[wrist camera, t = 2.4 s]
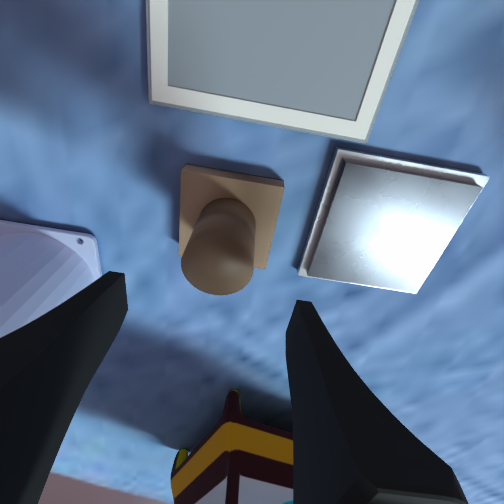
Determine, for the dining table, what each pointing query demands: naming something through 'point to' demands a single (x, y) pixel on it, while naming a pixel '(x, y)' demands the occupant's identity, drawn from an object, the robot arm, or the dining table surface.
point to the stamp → (225, 226)
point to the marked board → (277, 60)
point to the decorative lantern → (236, 463)
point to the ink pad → (385, 219)
